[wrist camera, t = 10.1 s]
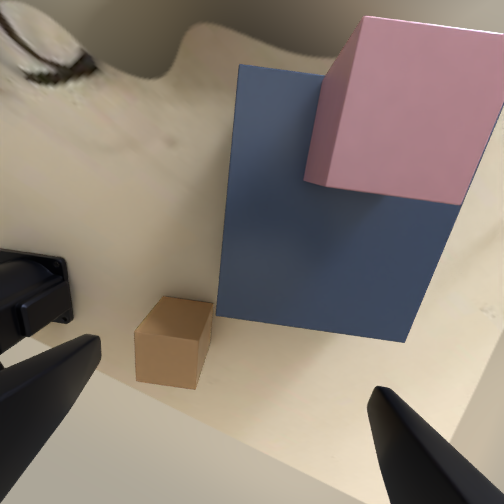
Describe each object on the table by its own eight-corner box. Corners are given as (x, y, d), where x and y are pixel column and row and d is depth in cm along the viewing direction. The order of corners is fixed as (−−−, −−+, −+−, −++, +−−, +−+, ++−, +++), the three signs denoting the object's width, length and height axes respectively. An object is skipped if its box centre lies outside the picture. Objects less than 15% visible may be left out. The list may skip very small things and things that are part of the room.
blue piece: (227, 282, 21) (215, 315, 16) (246, 95, 16) (238, 63, 11) (372, 303, 20) (404, 343, 16) (434, 120, 16) (506, 99, 11)
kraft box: (162, 337, 23) (135, 381, 18) (162, 295, 21) (133, 331, 17) (210, 344, 23) (195, 390, 18) (213, 302, 21) (198, 340, 17)
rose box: (302, 180, 13) (325, 186, 8) (322, 79, 11) (363, 14, 7) (388, 192, 13) (461, 205, 8) (419, 92, 11) (531, 36, 6)
